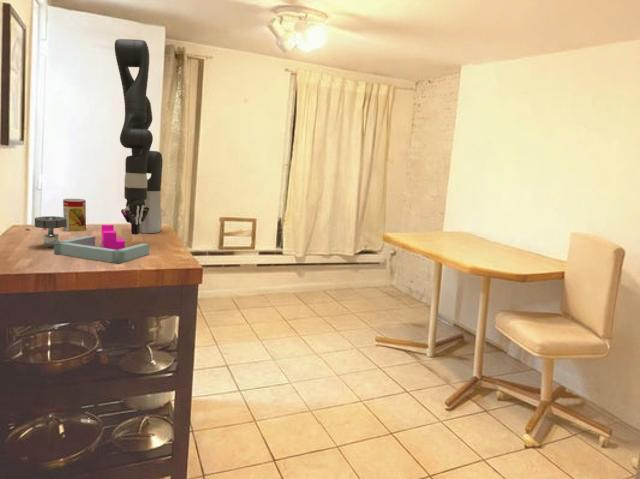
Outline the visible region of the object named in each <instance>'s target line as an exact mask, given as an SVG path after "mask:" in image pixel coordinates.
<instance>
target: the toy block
mask: <svg viewBox="0 0 640 479" xmlns="http://www.w3.org/2000/svg"><path fill="white" fill-rule="evenodd" d="M114 229H115V227H114V224H101V248H108V249H115V250H119V249H123V248H126V247H125V246H126V244H125V239H124V238H122V237H121V238H119V237H118V238H117V231H116V230H114Z"/></svg>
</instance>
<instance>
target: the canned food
mask: <svg viewBox="0 0 640 479" xmlns="http://www.w3.org/2000/svg"><path fill="white" fill-rule="evenodd" d="M62 204H63V205H62V206H63V214H62V215H63V217H65V218H66V227H63V230H64V231H66V232H82V231H83V230H84V231H86V230H87V224H86V223H87V216H86V215H87V212H86V211H87V210H86V209H87V205H86V199H85V198H83V199H82V198H64V199H63V200H62Z"/></svg>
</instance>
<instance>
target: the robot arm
mask: <svg viewBox="0 0 640 479" xmlns="http://www.w3.org/2000/svg"><path fill="white" fill-rule="evenodd" d="M114 53H115V58H116V63H117V64H116V65H117V68H118V73H119V77H120V81H121V85H122V86H121V87H122V94H123V100H124V101H123V102H124V122H123V125H122V129H121V131H120V135H119V142H120V144H121V146H122V147H124V148H125V149H130V150H131V155H128V156H126V157H125V165H124V166H125V169H124V170H125V171H124V172H125V175H124V193H123V194H124V195H123V197H124V199H125V200H126V203H125V208H122V209H121V210H120V211H121V214H122V216H123V217H124V220H125V221H126V223H129V224H130V228H131V231H130V232H131V235H134V236H136V235H140V233H143V234H156V233H160V232H161V231H162V208H161V207H162V206H161V202H162V201H161V200H162V199H161V197H162V196H161V195H162V194H161V193H162V192H161V189H162V176H163V175H162V174H163V162H164V161H163V156H162V153H161V152H160V151H157V150H151V149H152V148H151V147H152V144H153V140H154V137H153V134H152V132H151V130H149V128H150V127H151V124H152V122H153V112H152V105H151V100H150V99H149V98H148V96H147V90H148V89H147V88H148V81H149V80H148V79H149V70H150V50H149V46H148V44H147V42H146V41H145V40H143V39H134V38H133V39H131V38H130V39H129V38H118V39H116V40H115V42H114ZM130 68H138V72H137V75H136V77H135V78H134V77H133V76H132V73H131V71H130ZM148 174H150V177H149V178H148Z"/></svg>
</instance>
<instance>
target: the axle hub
mask: <svg viewBox="0 0 640 479" xmlns="http://www.w3.org/2000/svg"><path fill="white" fill-rule="evenodd" d="M48 219H53V218H48ZM54 229H55V228H47V233H44V234H43V236H42V237H43V248H47V249H54V243H55V242H60V239H59V238H60V236H59V234H58V233H55V232H54Z"/></svg>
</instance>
